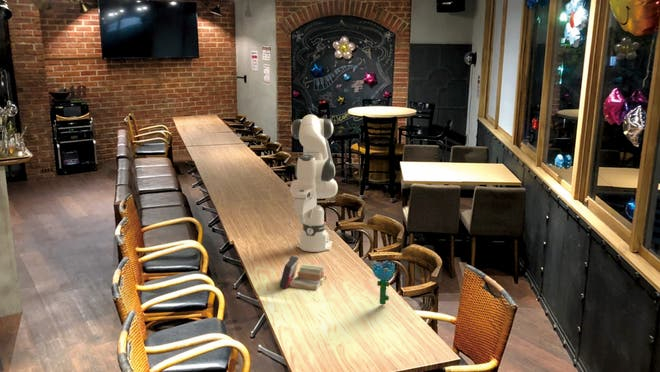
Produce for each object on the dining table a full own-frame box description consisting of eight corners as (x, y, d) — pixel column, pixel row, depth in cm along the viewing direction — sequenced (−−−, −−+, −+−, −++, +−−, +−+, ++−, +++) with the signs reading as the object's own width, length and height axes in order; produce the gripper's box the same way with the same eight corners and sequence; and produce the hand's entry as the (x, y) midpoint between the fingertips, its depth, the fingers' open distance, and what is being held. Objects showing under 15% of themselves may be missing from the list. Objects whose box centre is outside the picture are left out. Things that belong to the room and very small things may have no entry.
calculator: (292, 267, 269) (300, 258, 284) (283, 265, 270) (291, 255, 284) (286, 289, 272) (294, 278, 286) (277, 286, 272) (286, 276, 287)
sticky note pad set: (301, 276, 289) (301, 262, 288) (326, 279, 285) (326, 265, 284) (289, 286, 275) (289, 272, 274) (316, 290, 271) (316, 275, 270)
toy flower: (368, 302, 258) (369, 262, 254) (384, 298, 263) (385, 259, 259) (380, 309, 250) (382, 268, 247) (397, 305, 255) (398, 264, 252)
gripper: (307, 186, 280) (307, 214, 283) (291, 194, 261) (291, 225, 264) (320, 187, 279) (319, 215, 281) (305, 195, 259) (304, 226, 262)
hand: (305, 220), depth 273 cm, fingers open, 8 cm apart
